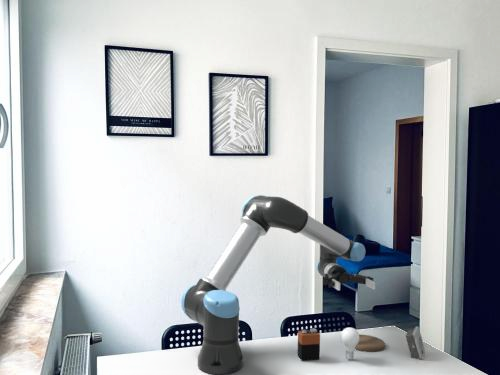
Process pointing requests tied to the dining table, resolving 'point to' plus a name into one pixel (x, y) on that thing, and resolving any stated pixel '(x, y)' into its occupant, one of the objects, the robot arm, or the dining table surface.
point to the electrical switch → (415, 343)
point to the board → (370, 344)
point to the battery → (308, 345)
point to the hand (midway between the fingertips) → (356, 286)
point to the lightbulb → (350, 341)
